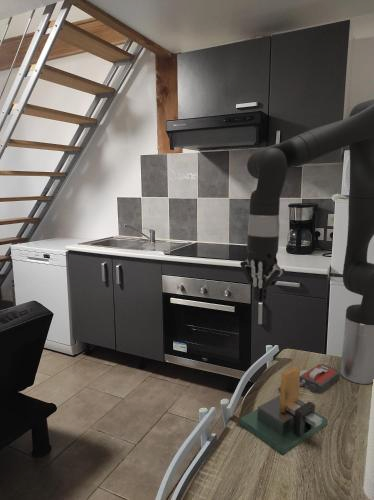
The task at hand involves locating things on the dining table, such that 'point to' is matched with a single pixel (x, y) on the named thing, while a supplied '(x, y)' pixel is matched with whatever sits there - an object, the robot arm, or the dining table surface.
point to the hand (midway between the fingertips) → (259, 301)
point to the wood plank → (294, 395)
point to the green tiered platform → (281, 424)
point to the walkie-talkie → (318, 378)
